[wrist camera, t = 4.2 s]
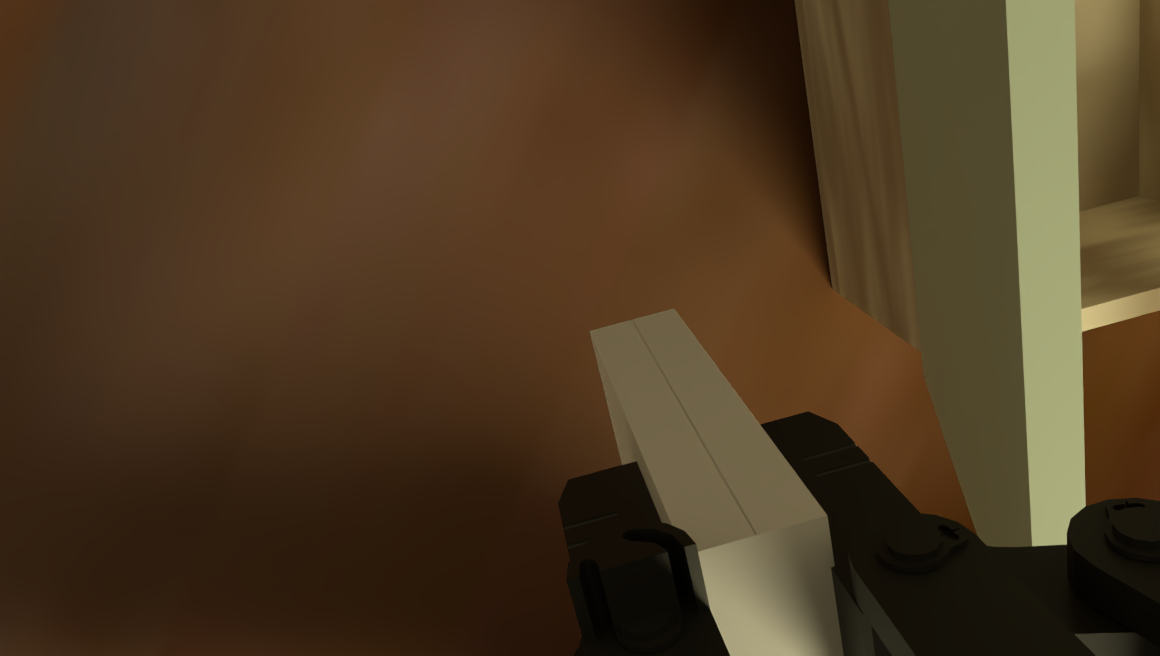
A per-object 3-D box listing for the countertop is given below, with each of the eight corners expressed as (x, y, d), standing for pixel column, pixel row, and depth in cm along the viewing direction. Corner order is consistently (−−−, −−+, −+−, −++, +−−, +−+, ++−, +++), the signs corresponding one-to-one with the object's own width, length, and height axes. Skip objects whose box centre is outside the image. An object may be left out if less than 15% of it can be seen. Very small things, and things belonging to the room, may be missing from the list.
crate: (832, 288, 37) (945, 369, 28) (785, -67, 32) (905, -97, 23) (1142, 205, 37) (1342, 259, 29) (1144, -155, 32) (1386, -216, 24)
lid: (947, 367, 28) (921, 370, 29) (909, -98, 23) (877, -90, 24) (1090, 723, 15) (1040, 723, 16) (1071, -143, 11) (999, -126, 11)
